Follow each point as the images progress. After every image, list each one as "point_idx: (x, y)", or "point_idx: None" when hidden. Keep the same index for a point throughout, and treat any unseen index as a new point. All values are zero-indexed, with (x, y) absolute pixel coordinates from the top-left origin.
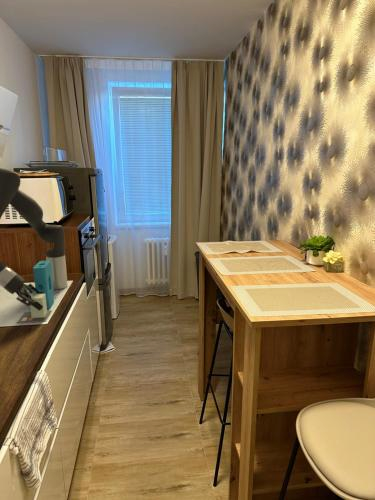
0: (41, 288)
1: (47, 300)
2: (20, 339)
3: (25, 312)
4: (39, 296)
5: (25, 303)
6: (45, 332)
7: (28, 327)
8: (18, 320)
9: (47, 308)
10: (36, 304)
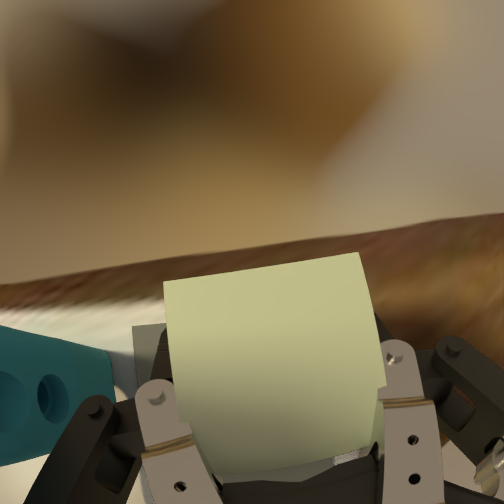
0: (4, 392)
1: (83, 349)
2: (485, 328)
3: None
4: (297, 328)
5: (469, 405)
6: (424, 245)
7: None
8: (300, 480)
9: (109, 363)
10: (385, 328)
